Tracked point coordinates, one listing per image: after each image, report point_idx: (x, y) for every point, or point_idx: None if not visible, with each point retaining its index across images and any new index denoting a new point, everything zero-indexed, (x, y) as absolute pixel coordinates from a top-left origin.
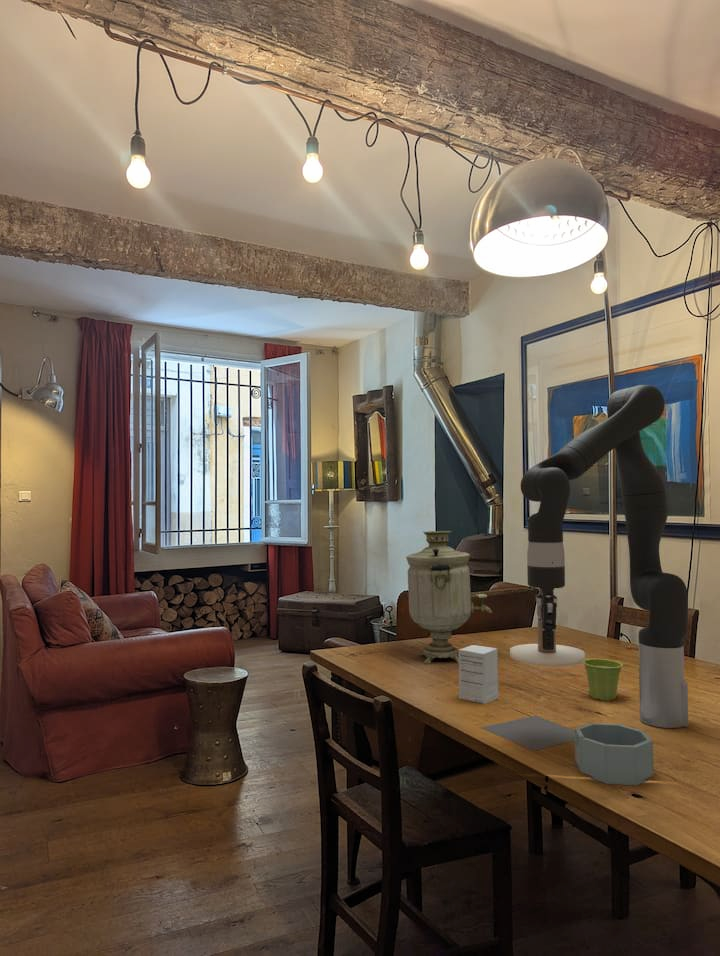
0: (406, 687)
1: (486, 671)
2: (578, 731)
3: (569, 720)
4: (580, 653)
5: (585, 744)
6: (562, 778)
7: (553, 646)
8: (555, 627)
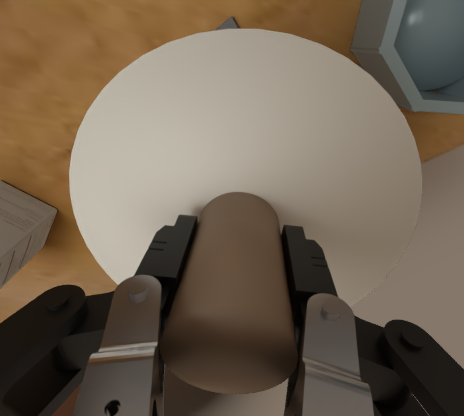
0: (8, 307)
1: (1, 245)
2: (439, 108)
3: (99, 42)
4: (295, 68)
5: None
6: (444, 139)
7: (303, 233)
8: (433, 341)
